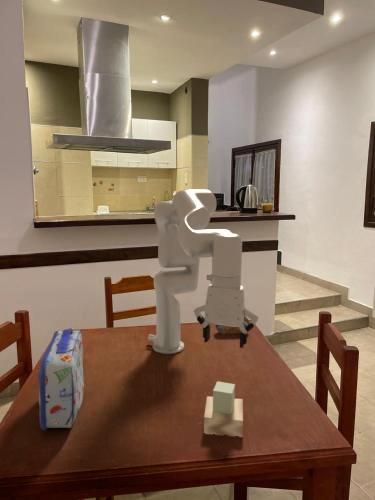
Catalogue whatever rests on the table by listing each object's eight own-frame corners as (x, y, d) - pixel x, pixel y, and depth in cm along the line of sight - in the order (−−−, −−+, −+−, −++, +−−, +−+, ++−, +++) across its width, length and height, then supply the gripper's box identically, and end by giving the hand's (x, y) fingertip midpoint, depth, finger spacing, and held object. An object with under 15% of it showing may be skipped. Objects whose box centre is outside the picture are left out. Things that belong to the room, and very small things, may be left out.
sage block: (212, 411, 99) (213, 390, 98) (216, 401, 104) (217, 381, 103) (231, 414, 98) (232, 393, 97) (234, 404, 103) (235, 384, 102)
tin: (215, 334, 164) (215, 316, 163) (214, 331, 167) (214, 313, 166) (248, 333, 166) (249, 314, 164) (246, 330, 169) (247, 312, 168)
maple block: (203, 434, 98) (204, 417, 97) (206, 412, 107) (207, 396, 107) (242, 438, 96) (243, 420, 95) (241, 415, 106) (242, 399, 105)
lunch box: (52, 385, 121) (49, 320, 117) (85, 382, 123) (83, 318, 119) (36, 441, 94) (31, 359, 90) (79, 436, 96) (75, 356, 92)
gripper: (189, 281, 96) (189, 343, 99) (257, 288, 90) (254, 354, 93) (199, 274, 103) (198, 333, 106) (262, 280, 97) (259, 342, 100)
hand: (224, 343), depth 100 cm, fingers open, 9 cm apart
